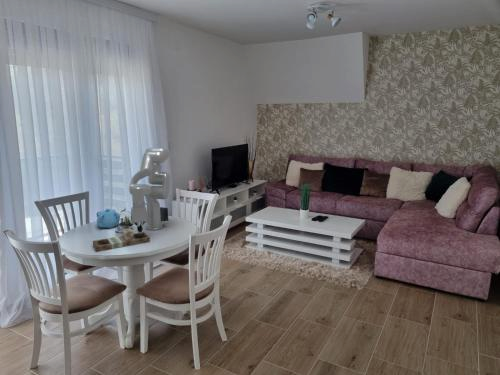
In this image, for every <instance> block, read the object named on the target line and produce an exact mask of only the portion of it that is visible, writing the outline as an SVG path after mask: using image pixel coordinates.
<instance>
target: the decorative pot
mask: <svg viewBox="0 0 500 375" xmlns="http://www.w3.org/2000/svg"><path fill="white" fill-rule="evenodd" d="M96 218H97V219H96V225H97V226H98V227H99V228H101V229H103V228H107V229H112V228H113V227H116V226H118V225H119V218H121V216H120V213H119V212H117V210H116V209H114V208H113V209H110V208H105V209H104V210H101V211H97V212H96Z"/></svg>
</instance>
